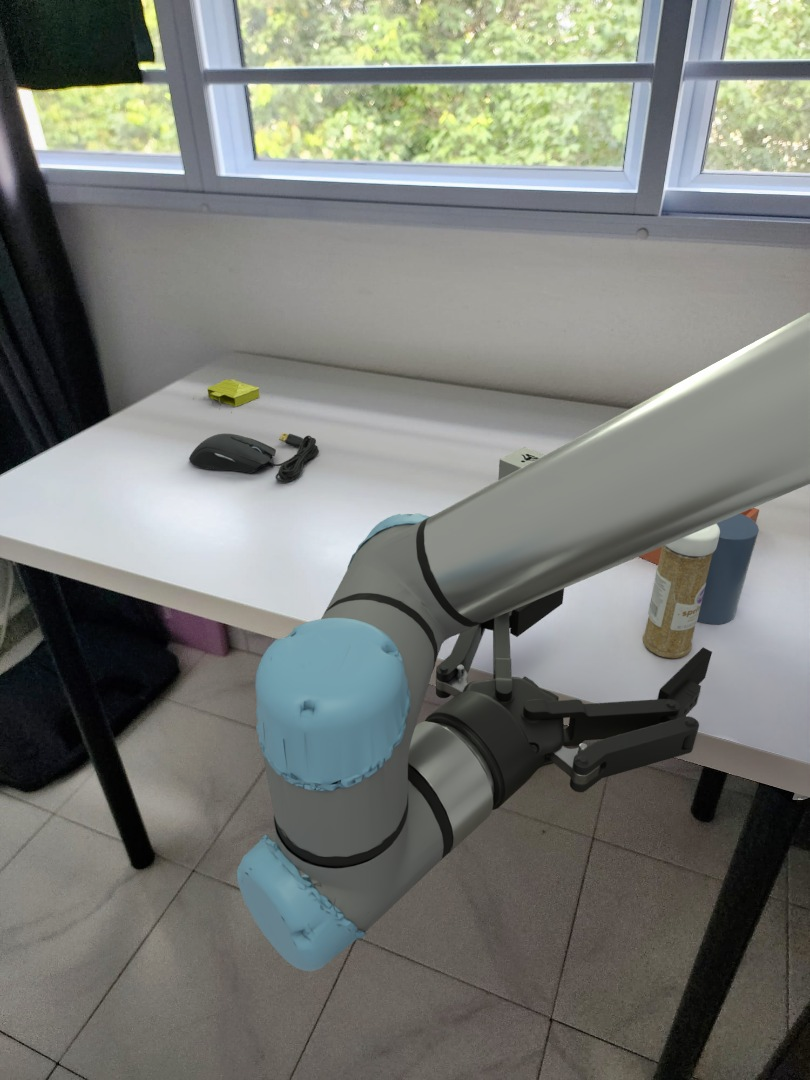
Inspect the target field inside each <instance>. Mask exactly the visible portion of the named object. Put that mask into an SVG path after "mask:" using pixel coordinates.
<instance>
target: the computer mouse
mask: <svg viewBox="0 0 810 1080" xmlns="http://www.w3.org/2000/svg"><path fill="white" fill-rule="evenodd" d="M278 440H279V441H281V442H284V443H285V444H286V445H289V446H292V447H294V448H297V451H296V454H294V455H293V456H292V457H291V458H289V459H287V460H285V461H284V462H281V463H274V462H273V461H271V460H272V459H274V457H275V456H276V452H277V449H276V448H274V447H272V446H270V445H268V444H266V443H263V442H261V441H259V440H256V439H254V438H251V437H247V436H243V435H240V434H234V433H217V434H214V435H211V436H209V437H207V438H206V439H204V440H203V441H201V442H200V443H199V444H198V445H197V446H196V447H195V448H194V449H193V451H192V452H191V454H190V455H189V457H188V460H189V462H190V463H191V464H192V465H193V466H194V467H196V468H200V469H204V470H212V471H236V472H243V473H249V474H252V473H254V472H257V471H258V470H260V469H262V468H263V467H271V468H274V467H279V468H278V472H277V473H276V474H275V480H276V481H278V482H280V483H288V482H291V481H293V480H294V479H295V478H297V477H299V476H300V474H301V473H302V471H303V468H304V465H306V464H307V461H309V460H311V459H313V458H314V457H316V456H317V455H318V454H319V446H318V445H317V444H316V443H317V440H316V438H315V437H312V436H311V435H310V434H309V435H306V436H304V437H301V436H299V435H295V434H293V433H286V432H281V435H280V437H279V439H278Z"/></svg>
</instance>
